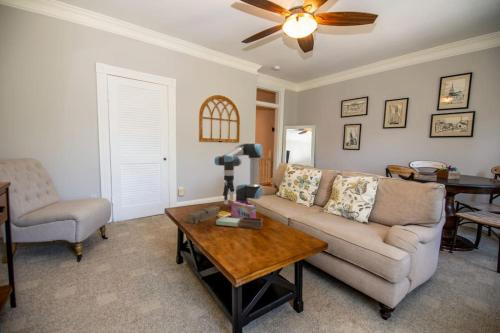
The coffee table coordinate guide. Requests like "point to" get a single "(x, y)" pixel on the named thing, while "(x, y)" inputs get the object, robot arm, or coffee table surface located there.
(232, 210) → the gum box
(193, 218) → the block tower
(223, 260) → the coffee table surface
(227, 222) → the lid
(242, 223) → the crate
